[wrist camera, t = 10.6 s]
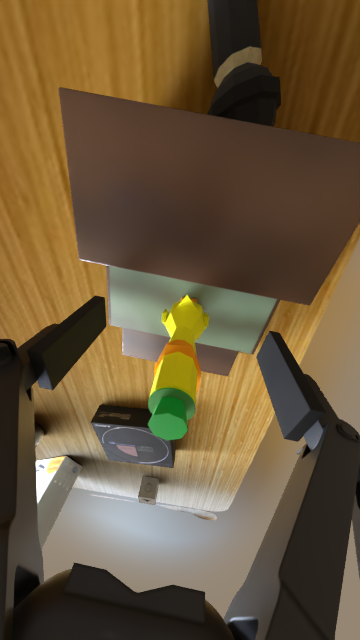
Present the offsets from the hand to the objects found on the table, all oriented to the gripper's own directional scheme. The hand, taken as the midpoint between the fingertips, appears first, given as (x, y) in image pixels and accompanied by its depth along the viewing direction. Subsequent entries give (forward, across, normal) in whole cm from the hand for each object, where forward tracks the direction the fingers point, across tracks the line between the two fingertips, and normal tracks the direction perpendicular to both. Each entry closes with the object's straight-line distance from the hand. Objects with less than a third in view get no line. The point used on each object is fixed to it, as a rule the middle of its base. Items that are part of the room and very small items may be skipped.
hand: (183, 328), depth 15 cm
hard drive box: (+12, -31, -70) cm, 78 cm away
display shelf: (+12, 0, 0) cm, 12 cm away
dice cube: (+12, 0, -68) cm, 70 cm away
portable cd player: (+12, -5, -40) cm, 42 cm away
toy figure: (+4, 0, 0) cm, 4 cm away
